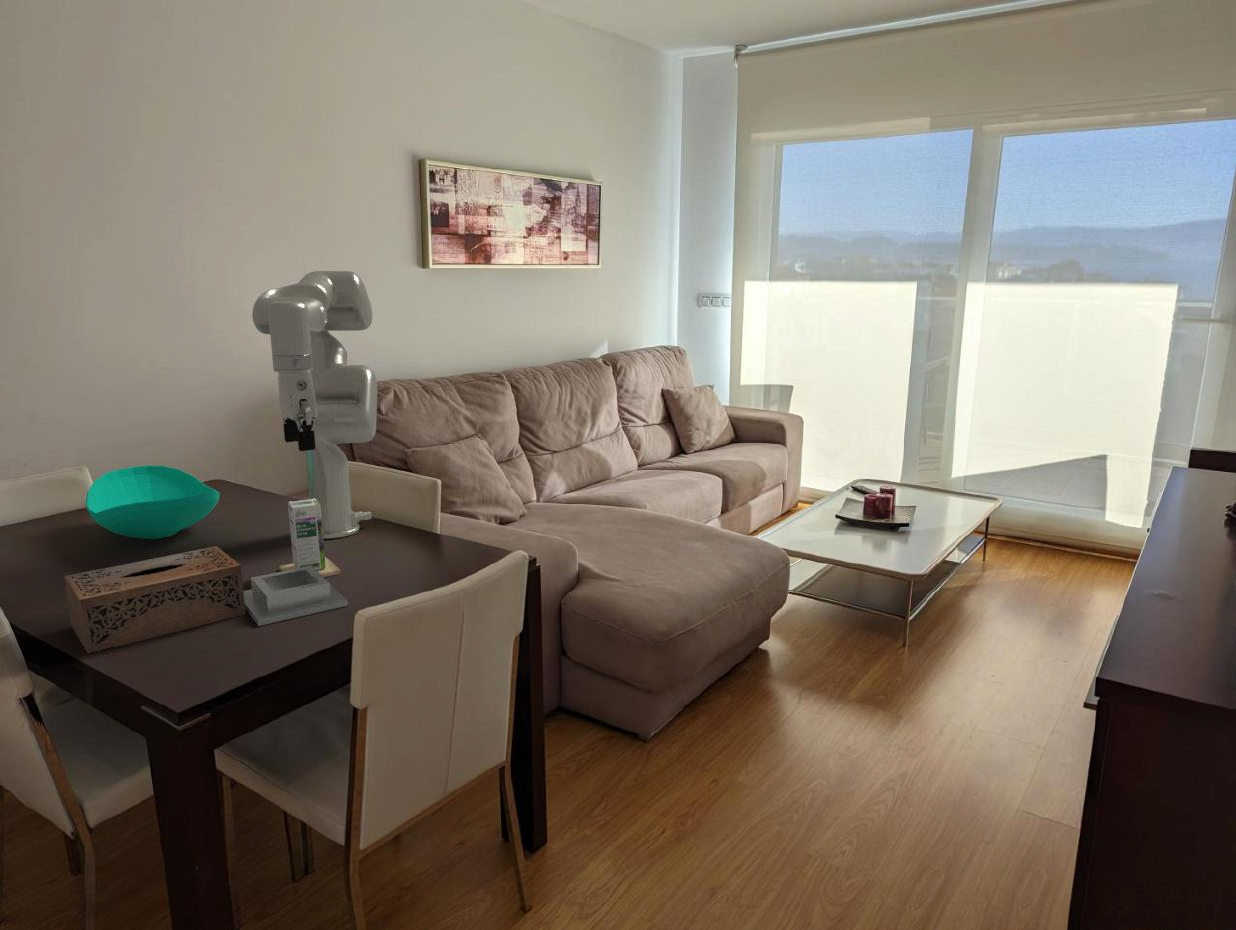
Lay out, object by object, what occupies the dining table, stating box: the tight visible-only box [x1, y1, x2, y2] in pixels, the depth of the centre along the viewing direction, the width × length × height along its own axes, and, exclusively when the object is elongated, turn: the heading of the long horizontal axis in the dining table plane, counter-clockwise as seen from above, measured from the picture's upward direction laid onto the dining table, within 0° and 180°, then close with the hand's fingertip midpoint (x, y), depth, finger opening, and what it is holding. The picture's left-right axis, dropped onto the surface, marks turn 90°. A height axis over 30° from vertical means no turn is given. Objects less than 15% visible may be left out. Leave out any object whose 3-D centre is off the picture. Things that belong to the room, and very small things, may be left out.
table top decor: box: [85, 464, 221, 540], centre depth 205 cm, size 40×28×13 cm
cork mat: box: [278, 556, 342, 578], centre depth 183 cm, size 10×10×1 cm
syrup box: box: [287, 498, 326, 570], centre depth 181 cm, size 6×6×14 cm
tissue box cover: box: [63, 545, 247, 653], centre depth 156 cm, size 26×14×10 cm, turn 131°
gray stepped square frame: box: [243, 566, 349, 627], centre depth 166 cm, size 16×16×4 cm
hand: (300, 445), depth 177 cm, fingers open, 9 cm apart
